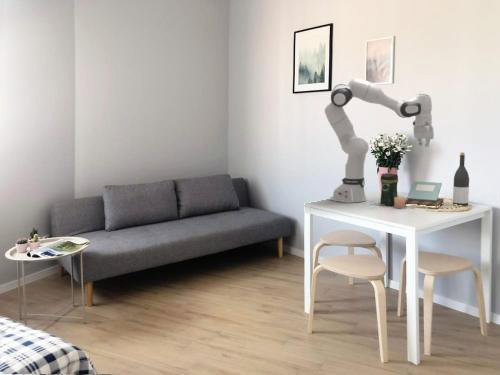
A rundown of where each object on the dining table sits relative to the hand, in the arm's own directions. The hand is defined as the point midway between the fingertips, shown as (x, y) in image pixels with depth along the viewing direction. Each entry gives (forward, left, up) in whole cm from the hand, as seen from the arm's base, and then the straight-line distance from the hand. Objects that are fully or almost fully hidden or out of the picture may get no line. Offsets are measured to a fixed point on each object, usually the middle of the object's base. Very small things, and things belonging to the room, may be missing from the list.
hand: (423, 146), depth 271 cm
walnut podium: (+3, -7, -33) cm, 34 cm away
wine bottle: (+21, +2, -34) cm, 40 cm away
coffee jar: (-15, -14, -34) cm, 40 cm away
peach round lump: (-7, -20, -33) cm, 40 cm away
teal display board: (+3, -6, -26) cm, 27 cm away
